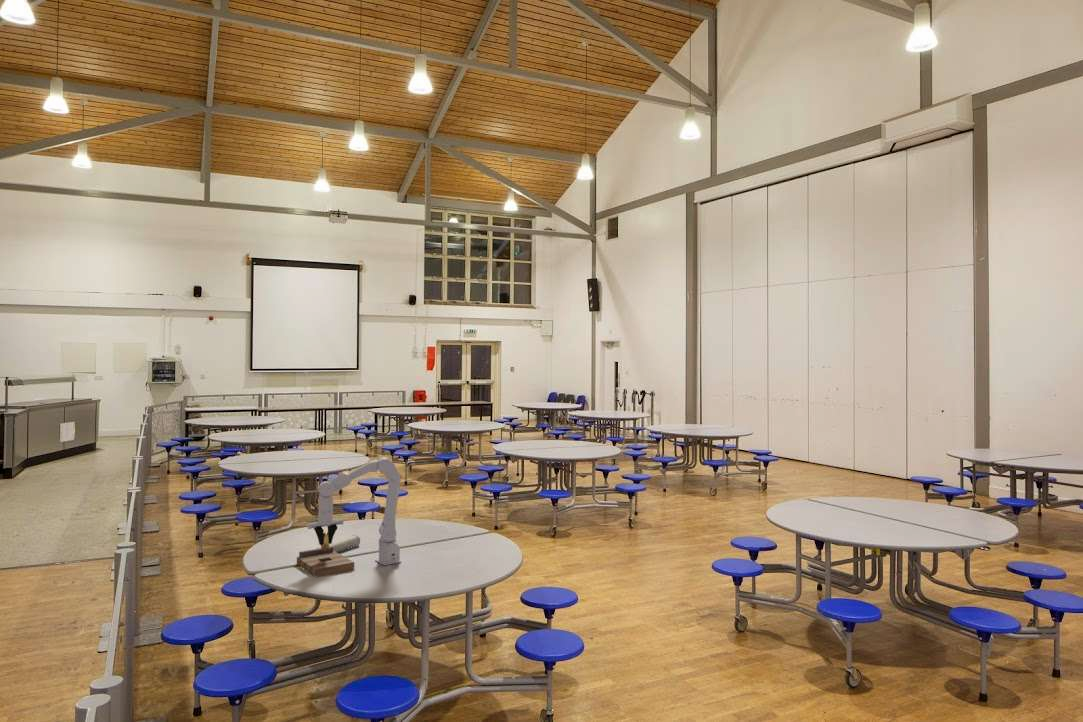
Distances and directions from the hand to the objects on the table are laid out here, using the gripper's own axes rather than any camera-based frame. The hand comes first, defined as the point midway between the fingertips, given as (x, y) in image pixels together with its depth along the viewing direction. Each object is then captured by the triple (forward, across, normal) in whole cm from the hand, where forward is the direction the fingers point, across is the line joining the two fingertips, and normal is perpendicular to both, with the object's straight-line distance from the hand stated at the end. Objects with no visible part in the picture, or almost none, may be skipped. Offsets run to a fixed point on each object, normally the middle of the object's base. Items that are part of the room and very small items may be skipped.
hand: (325, 543), depth 276 cm
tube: (+10, -12, -19) cm, 25 cm away
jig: (+9, 0, 0) cm, 9 cm away
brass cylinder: (+2, 0, 0) cm, 2 cm away
